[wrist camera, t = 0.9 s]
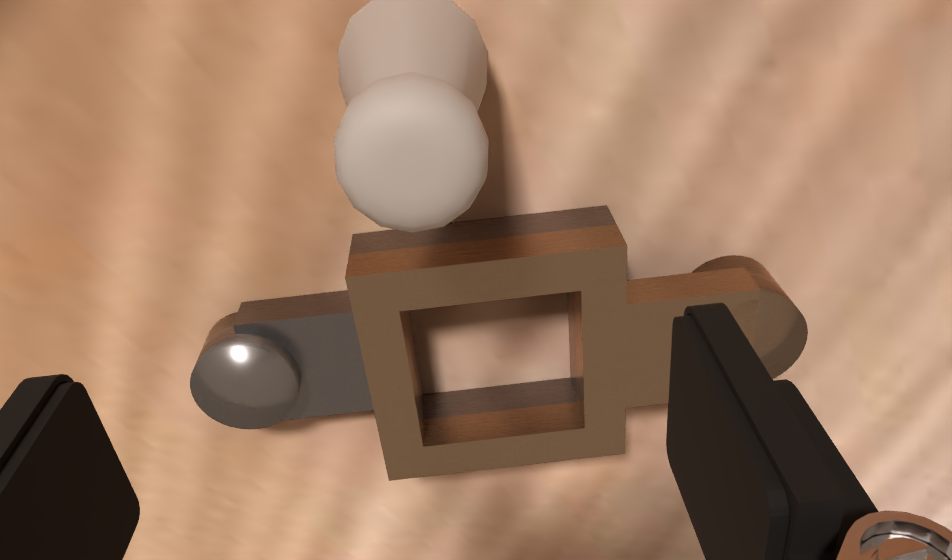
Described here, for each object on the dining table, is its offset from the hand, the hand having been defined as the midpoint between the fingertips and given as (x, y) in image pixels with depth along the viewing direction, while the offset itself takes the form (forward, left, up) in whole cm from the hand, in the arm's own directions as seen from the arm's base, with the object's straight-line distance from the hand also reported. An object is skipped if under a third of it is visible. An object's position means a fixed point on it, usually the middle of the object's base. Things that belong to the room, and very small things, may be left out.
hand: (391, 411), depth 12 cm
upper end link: (-6, +14, -22) cm, 27 cm away
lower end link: (+2, +14, -22) cm, 26 cm away
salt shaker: (0, 0, -22) cm, 22 cm away
